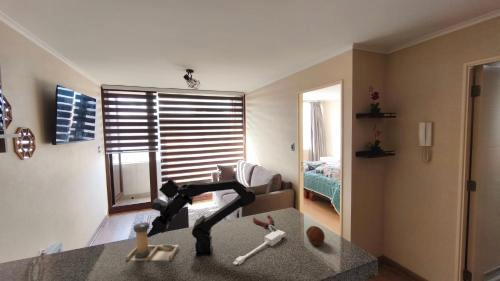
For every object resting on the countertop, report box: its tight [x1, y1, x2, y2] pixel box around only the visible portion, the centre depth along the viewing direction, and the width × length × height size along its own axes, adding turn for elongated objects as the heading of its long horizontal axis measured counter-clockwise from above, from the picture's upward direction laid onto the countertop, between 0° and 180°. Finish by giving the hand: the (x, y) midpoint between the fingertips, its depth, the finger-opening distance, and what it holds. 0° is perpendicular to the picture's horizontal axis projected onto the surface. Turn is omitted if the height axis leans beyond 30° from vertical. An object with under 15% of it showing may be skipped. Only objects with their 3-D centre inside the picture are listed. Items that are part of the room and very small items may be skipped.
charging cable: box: [232, 229, 286, 266], centre depth 100 cm, size 5×32×3 cm, turn 136°
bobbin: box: [133, 222, 150, 259], centre depth 95 cm, size 6×6×13 cm
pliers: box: [252, 214, 278, 233], centre depth 124 cm, size 12×20×3 cm, turn 20°
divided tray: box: [125, 243, 180, 261], centre depth 96 cm, size 19×9×3 cm, turn 89°
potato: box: [305, 225, 326, 247], centre depth 105 cm, size 8×12×8 cm, turn 16°
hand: (151, 231), depth 95 cm, fingers open, 9 cm apart
